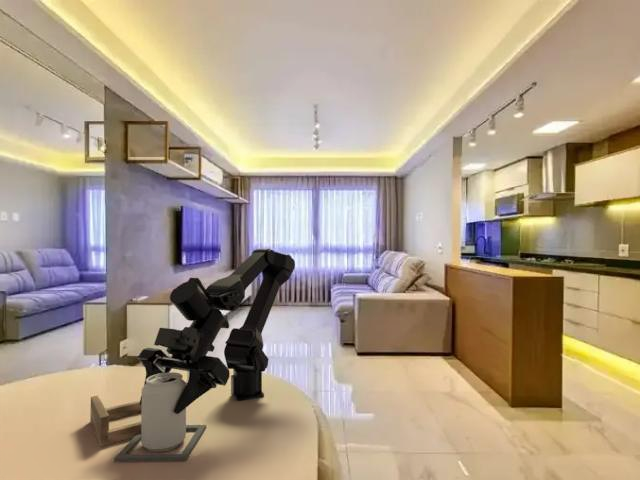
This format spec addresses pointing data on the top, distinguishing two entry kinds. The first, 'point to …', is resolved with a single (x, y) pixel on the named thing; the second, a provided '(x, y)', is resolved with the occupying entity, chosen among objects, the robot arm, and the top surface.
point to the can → (162, 412)
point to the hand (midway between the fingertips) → (158, 409)
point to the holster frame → (126, 457)
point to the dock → (103, 415)
